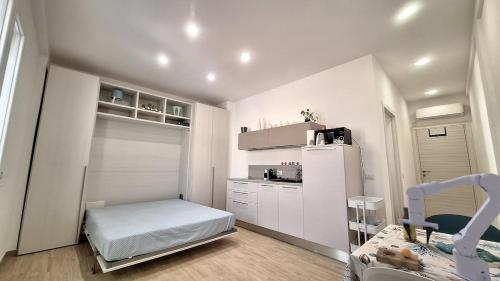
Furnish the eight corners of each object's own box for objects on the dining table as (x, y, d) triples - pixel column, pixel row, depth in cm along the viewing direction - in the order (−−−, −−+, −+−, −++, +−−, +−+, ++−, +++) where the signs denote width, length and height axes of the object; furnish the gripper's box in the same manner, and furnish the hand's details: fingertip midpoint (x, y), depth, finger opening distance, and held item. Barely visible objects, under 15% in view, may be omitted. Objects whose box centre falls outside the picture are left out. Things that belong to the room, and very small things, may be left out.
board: (418, 260, 98) (417, 254, 98) (418, 270, 89) (417, 264, 89) (379, 252, 108) (379, 247, 108) (376, 260, 99) (375, 255, 99)
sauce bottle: (412, 243, 120) (407, 208, 123) (401, 239, 126) (397, 206, 128) (420, 241, 122) (415, 207, 124) (409, 238, 127) (405, 206, 130)
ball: (414, 258, 94) (413, 249, 95) (406, 259, 94) (405, 250, 95) (407, 255, 98) (406, 246, 99) (399, 255, 98) (398, 246, 99)
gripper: (436, 212, 94) (439, 243, 92) (397, 208, 103) (400, 236, 102) (437, 215, 89) (440, 248, 87) (396, 210, 98) (399, 240, 96)
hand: (419, 242), depth 94 cm, fingers open, 5 cm apart
